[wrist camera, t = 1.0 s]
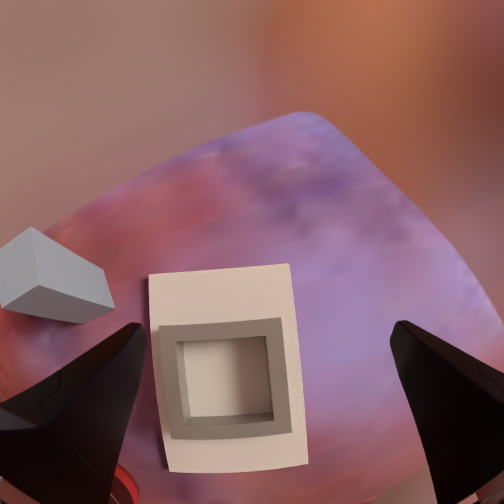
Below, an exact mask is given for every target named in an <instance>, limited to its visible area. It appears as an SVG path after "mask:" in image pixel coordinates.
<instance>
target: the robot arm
mask: <svg viewBox="0 0 504 504" xmlns="http://www.w3.org/2000/svg"><path fill="white" fill-rule="evenodd" d="M390 346H391V350H392V353H393V357H394V360H395V364H396V368H397V371H398V375H399V378H400V381H401V384H402V386H403V389H404V392H405V394H406V397H407V400H408V403H409V405H410V408H411V411H412V414H413V417H414V420H415V423H416V426H417V429H418V432H419V435H420V438H421V442H422V445H423V448H424V452H425V455H426V459H427V462H428V465H429V470H430V474H431V477H432V482H433V486H434V489H435V494H436V499H437V503H438V504H458V503H460V502H461V501H463V500H465V499H466V498H468V497H470V496H471V495H473V494H474V493H476V495H477V498H478V501H476V502H475V503H473V504H504V373H503V372H500V371H498V370H496V369H494V368H492V367H490V366H489V365H487V364H485V363H483V362H481V361H480V360H478V359H475V358H474V357H472V356H471V355H469V354H467V353H465V352H463V351H462V350H460V349H458V348H456V347H454V346H453V345H451V344H449V343H447V342H445V341H444V340H442V339H440V338H438V337H436V336H435V335H433V334H431V333H429V332H427V331H426V330H424V329H422V328H420V327H418V326H416V325H415V324H413V323H411V322H409V321H407V320H402V321H397V322H396V323H395V326H394V329H393V332H392V334H391V337H390ZM146 350H147V340H146V336H145V332H144V328H143V325H142V324H141V323H134V322H131V323H129V324H127V325H126V326H124V327H123V328H121V329H120V330H118V331H117V332H115V333H114V334H112V335H111V336H109V337H108V338H106V339H105V340H103V341H102V342H100V343H99V344H97V345H96V346H94V347H93V348H91V349H90V350H88V351H87V352H85V353H84V354H82V355H81V356H79V357H78V358H76V359H75V360H73V361H72V362H70V363H69V364H67V365H66V366H64V367H63V368H61V370H58V371H56V372H55V373H53V374H52V375H50V376H49V377H47V378H46V379H44V380H43V381H41V382H39V383H37V384H36V385H34V386H32V387H30V388H29V389H27V390H25V391H23V392H21V393H19V394H17V395H16V396H14V397H12V398H10V399H8V400H6V401H4V402H1V403H0V504H108V503H109V498H110V493H111V489H112V485H111V484H112V483H113V479H114V475H115V471H116V466H117V462H118V458H119V455H120V451H121V447H122V443H123V439H124V436H125V432H126V428H127V425H128V421H129V418H130V415H131V411H132V408H133V404H134V401H135V398H136V395H137V391H138V388H139V385H140V380H141V375H142V370H143V365H144V360H145V355H146Z"/></svg>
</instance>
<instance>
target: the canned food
mask: <svg viewBox="0 0 504 504" xmlns="http://www.w3.org/2000/svg"><path fill="white" fill-rule="evenodd" d="M111 485H112V489H111V493H110V498H109V503H108V504H138V500H139V492H138V488H137V485H136V483H135V481H134V479H133V478H132V477H131V476H130V474H129V473H128V472H127V471H126V470H125V469H124V468H123V467H121V466H120V465H119V464H117V466H116V471H115V475H114V479H113V483H112V484H111Z"/></svg>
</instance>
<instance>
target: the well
mask: <svg viewBox="0 0 504 504" xmlns="http://www.w3.org/2000/svg"><path fill="white" fill-rule="evenodd" d="M149 309H150V330H151V346H152V358H153V369H154V379H155V388H156V396H157V403H158V410H159V417H160V424H161V430H162V436H163V441H164V447H165V452H166V457H167V462H168V466H169V471H170V472H184V473H233V472H249V471H261V470H270V469H278V468H285V467H292V466H298V465H304V464H308V452H307V436H306V422H305V409H304V396H303V385H302V374H301V363H300V353H299V343H298V334H297V325H296V316H295V307H294V299H293V290H292V282H291V275H290V267H289V263H288V264H276V265H265V266H253V267H241V268H229V269H216V270H204V271H191V272H177V273H163V274H149Z"/></svg>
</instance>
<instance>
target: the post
mask: <svg viewBox="0 0 504 504" xmlns="http://www.w3.org/2000/svg"><path fill="white" fill-rule="evenodd" d="M0 302H1V308H2V309H6V310H10V311H15V312H19V313H24V314H29V315H33V316H38V317H44V318H49V319H54V320H60V321H66V322H72V323H79V324H84V323H86V322H89V321H91V320H93V319H95V318H97V317H99V316H101V315H103V314H105V313H108V312H110V311H112V310H114V309H115V306H114V303H113V300H112V297H111V294H110V291H109V288H108V285H107V281H106V278H105V275H104V271H103V269H101V268H99V267H97V266H96V265H94V264H92V263H90V262H89V261H87V260H85V259H83V258H82V257H80V256H78V255H77V254H75V253H73V252H71V251H70V250H68V249H66V248H65V247H63V246H61V245H60V244H58V243H57V242H55V241H53V240H52V239H50V238H49V237H47V236H45V235H44V234H42V233H41V232H39V231H38V230H36V229H34V228H33V227H32V226H30V227H29V228H28V229H26V230H25V231H23V232H22V233H21V234H19V235H18V236H17V237H15V238H14V239H13V240H11V241H10V242H9V243H7V244H6V245H5V246H3V247H2V248H1V249H0Z"/></svg>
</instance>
